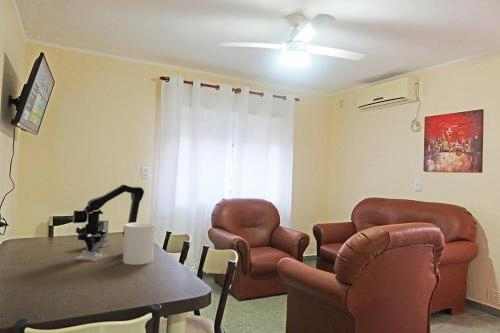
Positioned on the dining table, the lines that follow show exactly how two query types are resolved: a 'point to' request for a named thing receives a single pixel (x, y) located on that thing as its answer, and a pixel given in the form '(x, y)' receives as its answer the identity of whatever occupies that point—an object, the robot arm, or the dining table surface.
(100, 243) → the coffee box
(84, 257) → the sleeve block
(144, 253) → the canister
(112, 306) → the dining table surface
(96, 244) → the column
